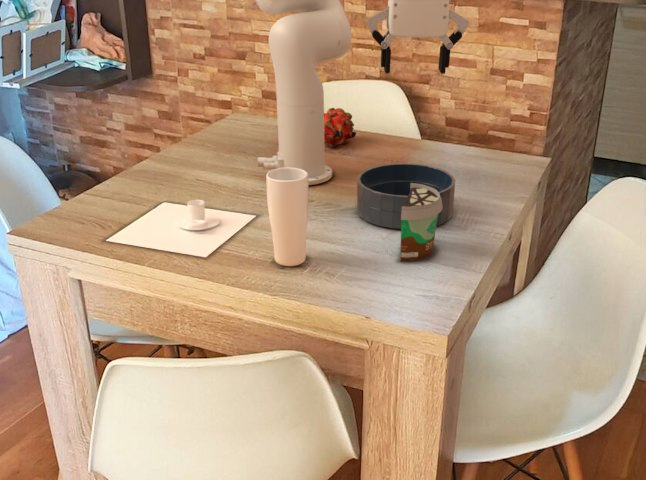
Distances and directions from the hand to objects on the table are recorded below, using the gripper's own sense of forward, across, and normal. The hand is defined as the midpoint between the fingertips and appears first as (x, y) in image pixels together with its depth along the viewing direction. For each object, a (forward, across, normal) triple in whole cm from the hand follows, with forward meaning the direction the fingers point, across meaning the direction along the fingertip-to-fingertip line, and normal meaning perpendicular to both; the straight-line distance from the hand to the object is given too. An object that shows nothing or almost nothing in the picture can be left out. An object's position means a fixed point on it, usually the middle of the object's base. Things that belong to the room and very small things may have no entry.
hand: (414, 71), depth 142 cm
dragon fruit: (+27, +11, -43) cm, 52 cm away
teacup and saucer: (+26, +42, +6) cm, 50 cm away
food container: (+26, 0, +19) cm, 32 cm away
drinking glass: (+26, +22, +21) cm, 40 cm away
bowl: (+26, 0, +1) cm, 26 cm away
